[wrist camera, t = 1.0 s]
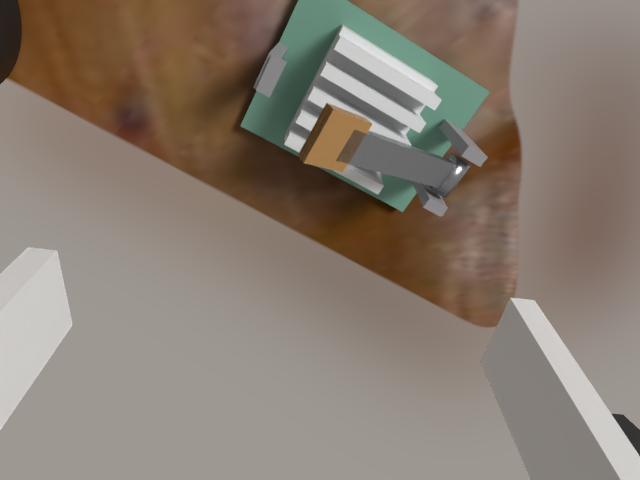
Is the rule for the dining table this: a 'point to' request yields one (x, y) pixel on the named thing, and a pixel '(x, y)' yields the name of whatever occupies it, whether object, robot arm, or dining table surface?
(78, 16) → the dining table surface
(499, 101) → the dining table surface
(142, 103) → the dining table surface
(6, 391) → the robot arm
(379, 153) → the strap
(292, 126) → the heatsink board
